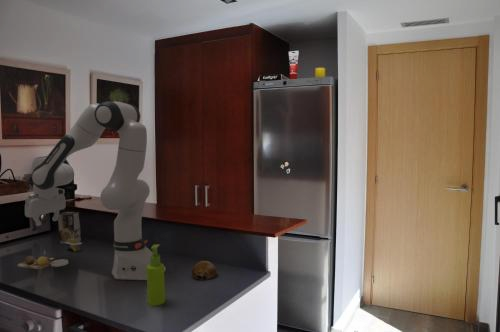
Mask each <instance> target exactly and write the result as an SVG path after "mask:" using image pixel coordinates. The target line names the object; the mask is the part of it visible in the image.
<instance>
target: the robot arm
mask: <svg viewBox="0 0 500 332" xmlns="http://www.w3.org/2000/svg"><path fill="white" fill-rule="evenodd" d="M140 120H141V112H140V110H139V109H138V108H137V106H135V105H133V104H131V103H125V102H122V101H110V100H109V101H104V102H101V103H96V102H93V103H91V104H89V105H88V106H87V107H86V108H85V109H84V110H83V112H82V113H80V116H78V119H77V120H76V122H75V123H74V125H73V126H71V127H72V128H70V129H69V130H68V132H67V133H66V134H65V135H64V136H63V137H62V138H61V139H60V140H59V141H58V142H57V143H56V144H55V146H54V147H53V148H52V149H51V151H50V152H49V153H48V155H45V156H39V157H35V158H33V161H32V165H31V181H32V183H33V185H32V189H33V190H32V191H33V194H32V195H29V196H27V197H26V199H25V200H24V201H25V204H24V216H25V217H26V218H32V220H33V221H34V222H35V226H36V227H40V226H42V221H40V216H42V215H43V216H44V215H46V214H50V213H53V216H52V221H53V222H58V215H59V214H60V211H61V210H62V211H63V210H65V208H66V203H67V202H66V197H65V193H66V192H65V191H66V190H65V189H64V188H59V187H60V186H65V185H68V184H69V185H70V184H71V183H72V182H73V181H74V178H75V171H74V169H73V167H72V166H71V165H70V164H68V163H65V161H66V159H67V158H68V157H70V156H71V155H73V154H74V153H76V152H78V151H81V150H84V149H88V148H90V147H92V146H94V145H95V144H96V143H97V141H99V139H100V138H101V136H102V134H103V132H104V131H105V129H107V130H109V131H111V132H113V133H116V132H117V133H118V136H119V141H118V149H117V155H116V163H115V165H114V166H115V167H114V169H113V172H112V175H111V177H110V178H109V181H108V183H107V184H106V186H105V187H104V188H103V189H102V190H101V191H100V192H101V193H100V202H101V204H102V205H103V206H104V208H106V209H107V210H110V211H111V210H116V211H117V210H118V214H117V216H116V217H115V219H114V221H113V236H114V239H113V250H114V259H113V266H112V269H111V275H112V276H113V279H114V280H129V281H130V280H132V281H133V280H135V281H147V266H148V265H149V264H150V256H151V255H152V251H151V249H150V248H149V247H147V245H146V244H147V243H148V239H146V240H144V238H143V237H142V219H143V212H144V208H145V204H146V201H147V199H148V197H149V196H150V186H149V185H148V183H147V182H146V181H145V180H143V179H140V178H138V177H140V174H141V173H142V172H143V170H144V167H145V160H146V152H147V148H148V147H147V143H148V135H147V133H148V132H147V128H146V126H145V125H144V124H143V123H141V122H140ZM166 271H167V268H166V266H164V273H165V272H166Z"/></svg>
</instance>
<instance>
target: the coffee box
mask: <svg viewBox="0 0 500 332" xmlns="http://www.w3.org/2000/svg"><path fill="white" fill-rule="evenodd" d="M80 221H81V219H80V211H63V212H61V213H59V215H58V220H57V222H58V223H57V224H58V236H59V244H64V245H66V244H68V243H66V241H68V239H71V238H74V239H78V242H82V237H81V222H80ZM68 245H69V244H68Z"/></svg>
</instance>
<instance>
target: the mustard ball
mask: <svg viewBox="0 0 500 332" xmlns="http://www.w3.org/2000/svg"><path fill="white" fill-rule="evenodd" d="M36 260H37V263H38V264H39V265H41V266H43V265H45V264H46V263H47V261H48V258H46V256H44V255H43V256H40V257H38V259H36Z"/></svg>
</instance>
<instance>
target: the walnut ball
mask: <svg viewBox="0 0 500 332" xmlns="http://www.w3.org/2000/svg"><path fill="white" fill-rule="evenodd" d="M35 260H36V258H35V256H33V255H28V256H26V257H25V259H24V262H25V263H26V264H27V265H32V264H33V263H34V262H35Z"/></svg>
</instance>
